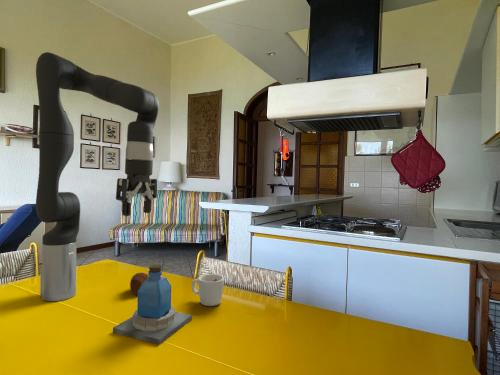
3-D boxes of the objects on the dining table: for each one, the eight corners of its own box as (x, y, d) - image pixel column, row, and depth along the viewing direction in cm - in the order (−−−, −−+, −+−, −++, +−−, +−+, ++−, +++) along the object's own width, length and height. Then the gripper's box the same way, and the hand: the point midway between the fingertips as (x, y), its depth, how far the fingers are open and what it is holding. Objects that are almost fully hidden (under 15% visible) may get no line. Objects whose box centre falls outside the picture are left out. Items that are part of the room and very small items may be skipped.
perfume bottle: (159, 318, 77) (160, 270, 77) (137, 315, 79) (137, 268, 78) (170, 308, 83) (171, 264, 83) (149, 305, 85) (150, 262, 84)
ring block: (112, 332, 77) (113, 318, 77) (150, 310, 90) (150, 298, 90) (159, 344, 72) (159, 329, 72) (191, 319, 85) (192, 306, 85)
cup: (184, 304, 95) (185, 278, 95) (198, 295, 103) (199, 271, 102) (215, 310, 91) (216, 283, 91) (227, 300, 99) (228, 275, 98)
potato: (123, 295, 101) (123, 276, 101) (136, 286, 110) (137, 268, 110) (143, 297, 100) (144, 277, 100) (155, 287, 109) (155, 269, 109)
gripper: (145, 159, 98) (143, 211, 98) (110, 156, 84) (107, 215, 85) (165, 160, 95) (163, 213, 96) (131, 157, 82) (129, 218, 82)
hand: (137, 214), depth 90 cm, fingers open, 8 cm apart
